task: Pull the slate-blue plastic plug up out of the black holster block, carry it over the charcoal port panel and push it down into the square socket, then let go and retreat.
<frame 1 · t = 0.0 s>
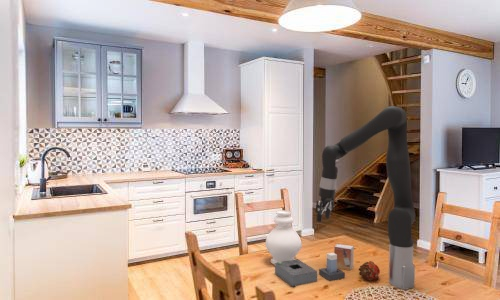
hand: (323, 219, 174), 22 cm above the table, tool pointing down, fingers open, 8 cm apart
port: (295, 277, 161), on the table
small box: (343, 268, 172), on the table
decorative vase: (283, 262, 181), on the table
plug: (331, 276, 161), resting on holster
holster: (331, 277, 161), on the table
dragon fruit: (369, 279, 160), on the table
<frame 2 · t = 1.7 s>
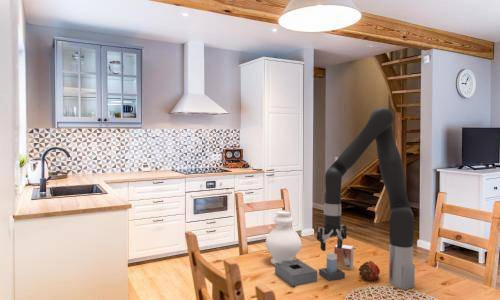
hand: (331, 249, 161), 13 cm above the table, tool pointing down, fingers open, 8 cm apart
nothing on the table moved.
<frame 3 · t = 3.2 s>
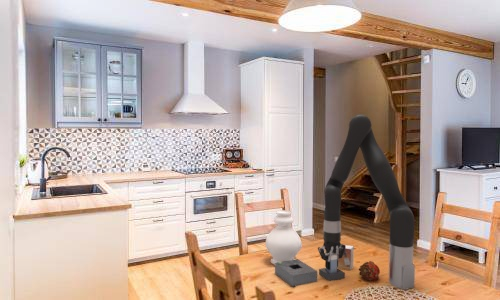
hand: (331, 268, 161), 4 cm above the table, tool pointing down, fingers closed on plug, 3 cm apart
plug: (331, 276, 161), point 1 cm above the table, touching gripper
everything else where it was.
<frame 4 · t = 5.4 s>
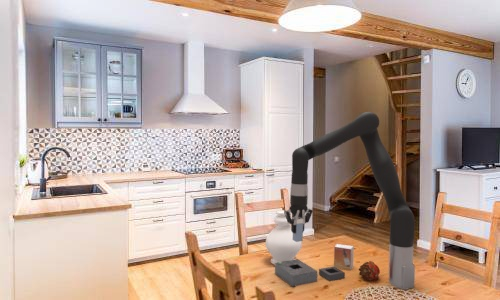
hand: (297, 232, 160), 20 cm above the table, tool pointing down, fingers closed on plug, 3 cm apart
plug: (297, 240, 161), point 17 cm above the table, touching gripper
everything else where it was.
when the fingers open (6 cm above the table, at t = 7.9 s): plug drops 1 cm, resting on port.
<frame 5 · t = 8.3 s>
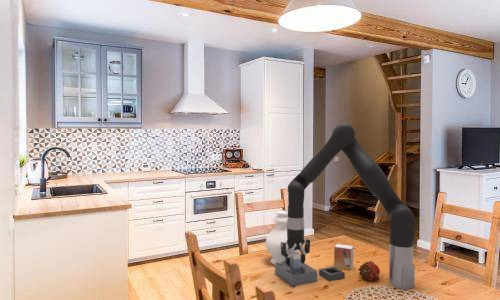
hand: (295, 264, 160), 6 cm above the table, tool pointing down, fingers open, 6 cm apart
plug: (295, 275, 161), point 1 cm above the table, touching port
everything else where it was.
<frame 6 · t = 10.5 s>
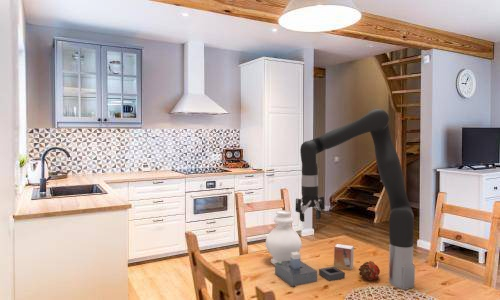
hand: (310, 220, 165), 24 cm above the table, tool pointing down, fingers open, 8 cm apart
nothing on the table moved.
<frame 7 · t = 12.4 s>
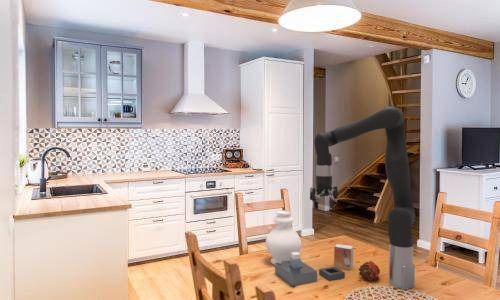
hand: (323, 208, 173), 28 cm above the table, tool pointing down, fingers open, 8 cm apart
nothing on the table moved.
at the end: plug 0.0 cm off-centre on the port, point 1.0 cm above the port's base; plug tilted 0°; the gripper is holding nothing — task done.
